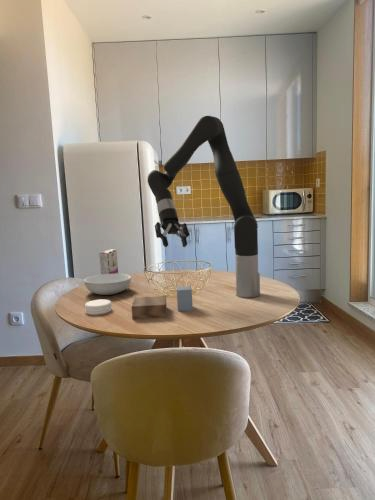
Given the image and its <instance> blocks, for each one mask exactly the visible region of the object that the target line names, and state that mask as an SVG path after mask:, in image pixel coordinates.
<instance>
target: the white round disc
mask: <svg viewBox="0 0 375 500" xmlns="http://www.w3.org/2000/svg"><path fill="white" fill-rule="evenodd" d="M84 306H85V308H84V309H85V310H84V311H85V313H86V314H87V315H91V316H92V315H94V316H95V315H96V316H97V315H98V316H99V315H104V314H107V313H110V312H111V311H112V310H113V308H112V301H111V300H110V299H105V298H104V299H103V298H102V299H94V300H90V301H87V302H86V303H85V304H84Z"/></svg>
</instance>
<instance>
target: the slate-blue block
mask: <svg viewBox="0 0 375 500" xmlns="http://www.w3.org/2000/svg"><path fill="white" fill-rule="evenodd" d="M176 305H177V311H178V312H189V311H191V312H192V311H193V310H194V309H193V289H192V285H187V286H186V285H185V286H176Z"/></svg>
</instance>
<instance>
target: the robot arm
mask: <svg viewBox="0 0 375 500" xmlns="http://www.w3.org/2000/svg"><path fill="white" fill-rule="evenodd" d="M206 142H208V144H209V145H208V146H209V147H210V150H211V152H212V155H213V163H214V164H213V165H214V166H213V167H214V168H213V169H214V173H215V177H216V181H217V183H218V187H219V188H220V191H221V193H222V195H223V197H224V198H225V200H226V202H227V203H228V206H229V207H230V210H231V213H232V216H233V221H234V227H233V232H234V233H233V234H234V235H233V237H234V239H233V240H234V252H235V253H234V254H235V257H234V258H235V287H236V288H235V290H236V292H235V293H236V296H237V297H238V298H239V297H240V298H245V299H246V298H255V297H259V296H261V284H260V283H261V281H260V280H261V277H260V272H259V245H258V241H259V239H258V236H259V235H258V227H259V226H258V222H257V219H256V218H255V216H254V213H253V211H252V209H251V207H250V205H249V203H248V202H249V201H248V200H247V197H246V196H247V195H246V191H245V187H244V184H243V181H242V180H243V179H242V178H241V174H240V171H239V169H238V166H237V164H236V161H235V159H234V157H233V154H232V151H231V149H230V146H229V142H228V138H227V134H226V131H225V126H224V124H223V122H222V121H221V119H219V118H218V117H216V116H212V115H204V116H202V117H201V118H199V120H198V121H197V122H196V124H195V125H194V127H193V128H192V130H191V131H190V133H189V135H187V137H186V138H185V139H184V141H183V142H182V143H181V144H180V145H179V147H178V148H177V149H176V150H175V151H174V152H173V153H172V154H171V155H170V156H169V157H168V158H167V160H166V161H165V162H164V163H163V166H162V167H163V169H164V172H162V171H159V170H157V169H154V170H151V171H150V172H149V173H148V175H147V184H148V187H149V188H150V190H151V191H150V192H152V194H153V196H154V197H155V202H156V207H157V209H156V210H157V214H158V217H159V221H160V222H159V221H157V222H156V223H155V225H154V231H155V235H156V238H159V239H161V241H162V245H163V246H164V247H165V248H167V247H168V246H169V241H168V237H167V234H168V235H176V236H177V237H179V238H180V241H181V244H182V248H186V247H187V245H188V240H187V238H189V236H190V232H189V229H188V226H187V223H185V222H183V224H182V223H180V222H179V216H178V212H177V208H176V204H175V202H174V201H173V199H174V198H173V196H172V195H173V194H172V193H171V191H170V189H168V188H170V187H171V185H172V183H173V182H174V180H175V178H176V176H177V174H179V172H180V171H181V170H183V168H184V167H185V166H186V165H187V164H188V163H189V161H190V160H191V158H192V157H193V155H194V153H195V152H196V151H197V150H198V149H199V148H200V147H201V146H202V145H203V144H204V143H206ZM162 229H163V232H162Z"/></svg>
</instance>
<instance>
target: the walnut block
mask: <svg viewBox="0 0 375 500" xmlns="http://www.w3.org/2000/svg"><path fill="white" fill-rule="evenodd" d="M167 307H168V306H167V295H160V296H159V295H158V296H138V297H137V296H136V297H134V298H133V301H132V305H131V317H132V318H131V319H132V320H142V319H144V320H145V319H161V318H167V310H168V309H167Z"/></svg>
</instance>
